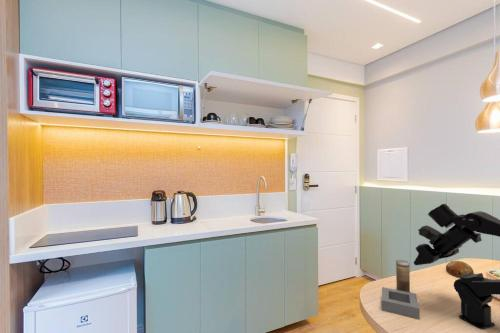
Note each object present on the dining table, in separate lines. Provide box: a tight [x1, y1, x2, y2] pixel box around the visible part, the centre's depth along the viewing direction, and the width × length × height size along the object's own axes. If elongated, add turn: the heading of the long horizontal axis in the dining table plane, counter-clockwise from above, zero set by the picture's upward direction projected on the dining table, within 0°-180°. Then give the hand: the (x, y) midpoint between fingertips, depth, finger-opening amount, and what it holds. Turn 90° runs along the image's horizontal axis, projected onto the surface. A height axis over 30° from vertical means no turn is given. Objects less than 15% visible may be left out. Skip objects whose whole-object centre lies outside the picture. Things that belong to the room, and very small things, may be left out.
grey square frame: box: [381, 286, 420, 320], centre depth 89 cm, size 11×11×4 cm
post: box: [395, 259, 411, 293], centre depth 98 cm, size 5×5×12 cm
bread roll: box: [445, 260, 475, 279], centre depth 115 cm, size 10×10×8 cm
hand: (421, 261), depth 94 cm, fingers open, 9 cm apart
